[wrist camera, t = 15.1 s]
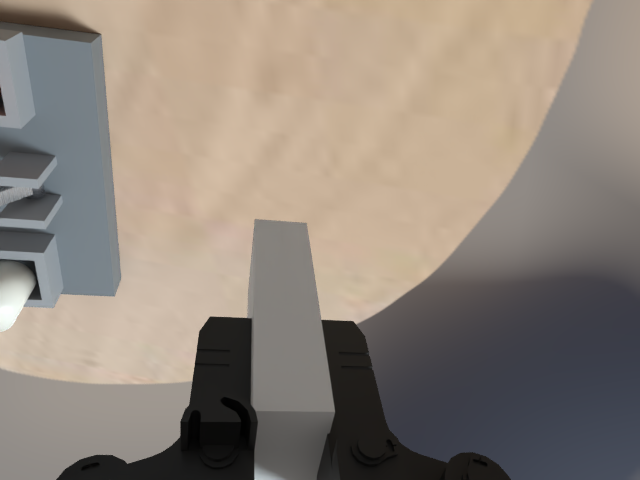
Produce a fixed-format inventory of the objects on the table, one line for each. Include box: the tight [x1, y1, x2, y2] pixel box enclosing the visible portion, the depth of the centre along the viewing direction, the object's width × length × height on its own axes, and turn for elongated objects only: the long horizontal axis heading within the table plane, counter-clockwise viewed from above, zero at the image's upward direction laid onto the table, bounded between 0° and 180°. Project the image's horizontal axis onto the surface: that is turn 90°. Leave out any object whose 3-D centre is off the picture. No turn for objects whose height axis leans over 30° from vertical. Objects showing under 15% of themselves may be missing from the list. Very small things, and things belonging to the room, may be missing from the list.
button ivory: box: [0, 260, 36, 332], centre depth 44 cm, size 4×4×5 cm
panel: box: [0, 22, 121, 308], centre depth 43 cm, size 25×12×7 cm, turn 171°
